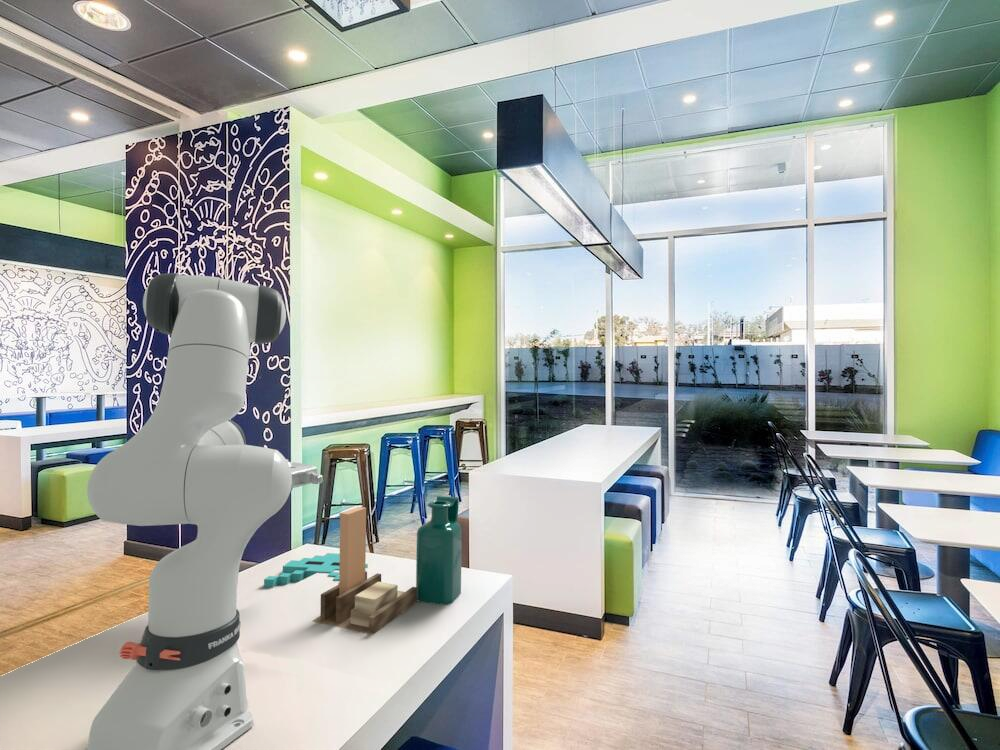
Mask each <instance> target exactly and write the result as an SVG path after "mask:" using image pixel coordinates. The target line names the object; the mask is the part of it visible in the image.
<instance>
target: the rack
mask: <svg viewBox="0 0 1000 750" xmlns="http://www.w3.org/2000/svg"><path fill="white" fill-rule="evenodd" d="M377 582H382V573H378V572H377V573H376V574H374V575H372V576H370V577H368V571H366V570H365V581H363V582H361V583H360V584H358V585H356V586H355V587H353V588H351V589H349V590H348V591H346V592H344V593H342V594H341V595H339V584H337V585H335V586H333V587H331V588H330V589H327V590H326V591H324V592H322V593H321V594H320V614H319V615H320V616H318V617H316V618H314V619H313V620H312V622H313V623H319V624H324V625H327V626H333V627H337V628H342V629H347V630H352V631H356V632H361V633H364V634H365V633H366V634H370V635H375V634H376V633H377V632H379V631H380V630H381V629H382V628H384V627H385V626H386V625H388V624H389V623H390V622H392V621H393V620H395V619H396V618H398V617H399V616H400V615H401V614H403V613H404V612H405V611H406V610H408V609H409V608H411V607H412V606H413V605H415V604H416V603H417V602H418V601H417V587H416V586H412V587H410V588H408V589H407V590H406V591H403V592H404V593H403V594H402V595H400V596H399V597H397V598H396V599H394V600H393V601H391V602H390V603H388V604H387V605H386V606H384V607H383V608H381V609H380V610H378V611H377V612H375V613H374V614H372V615H371V616H370V617H369V627H365V626H360V625H355V624H351V610H352V609H354V608H355V595H357V594H359V593H360V592H362V591H364V590H365V589H367V588H369V587H370V586H372V585H374V584H375V583H377Z"/></svg>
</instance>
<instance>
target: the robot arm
mask: <svg viewBox="0 0 1000 750" xmlns="http://www.w3.org/2000/svg"><path fill="white" fill-rule="evenodd" d="M282 296H283V295H282V294H280V292H279V291H278V290H276V289H274V288H272V287H269V286H266V285H262V284H260V285H259V286H258V285H255V284H251V283H248V282H242V281H236V280H233V279H227V278H221V277H218V276H209V275H191V274H190V275H189V274H188V275H187V274H181V275H180V274H179V273H178V272H167V273H160V274H157V275H156V276H154V277H153V278H151V279H150V281H149V283H148V285H147V287H146V289H145V291H144V294H143V298H142V308H143V313H144V316H145V317H146V321H147V324H148V325H149V326H150V327H151V328H152V329H153V330H154V331H156V332H158V333H161V334H165V335H168V336H170V341H169V344H168V351H167V359H166V366H165V372H164V378H163V382H162V387H161V391H160V393H159V394H160V395H159V398H158V402H157V404H156V405H155V408H154V410H153V411H152V413H151V415H150V417H149V418H148V419H147V421H146V422H145V423H144V425H143V426H142V427H141V428H140V430H139V431H138V432H136V433H135V435H133V436H132V437H131V438H130V439H128V440H127V441H126V442H125V443H124V444H122V445H121V446H119V447H118V448H116V449H114V450H112V451H111V452H109V453H107V454H106V455H104V456H103V457H102V458H101V459H100V460H99V461H98V463H97V464H96V465H95V466H94V467H93V469H92V471H91V474H90V475H89V478H88V482H87V487H86V488H87V492H86V493H87V494H86V495H87V500H88V503H89V506H90V508H91V509H92V512H94V514H95V515H96V516H97V517H98V518H99V519H100V520H101V521H103V522H107V523H108V522H109V523H115V524H120V525H128V526H138V527H145V526H146V527H148V526H149V527H150V526H167V525H187V524H190V525H196V526H197V533H196V534H197V535H196V537H195V540H193V541H191V542H189V543H187V544H185V545H183V546H181V547H179V548H177V549H175V550H173V551H171V552H170V553H168V554H166V555H165V556H164V557H162V558H161V559H160V560H159V561H157V563H156V564H155V565H154V567H153V568H152V570H151V572H150V575H149V577H148V578H149V579H148V610H147V611H148V614H147V615H148V621H147V622H148V624H147V625H146V627H144V629H145V630H144V631H143V635H142V636H141V640H140V642H138V643H135V642H133V641H127V642H125V643H124V644H123V645H122V646H121V648H120V650H119V655H120V656H119V657H120V658H121V659H124V660H129V659H131V660H133V661H135V660H136V662H135V663H134V665H133V666H132V668H131V669H130V670H129V672H127V675H126V676H125V677H124V678H123V680H122V681H121V683H120V684H119V685H118V686H117V687H116V689H115V690H114V692H113V693H112V694H111V695H110V697H109V698H108V700H106V702H105V703H104V705H103V706H102V707H101V709H100V710H99V711H98V713H97V714H96V715H95V716H94V718H93V720H92V723H91V726H90V729H89V734H88V740H87V746H86V747H87V748H85V749H84V750H222V749H224V748H225V747H226V746H228V745H229V744H231V743H232V742H233V741H235V740H236V739H237V738H239V737H240V736H241V735H243V734H244V733H245V732H247V731H248V730H249V729H251V728H253V726H254V724H255V723H254V715H253V713H252V712H251V710H249V708H248V707H249V703H248V697H247V696H248V695H247V685H246V675H245V667H244V662H243V660H242V659H243V658H242V657H241V654H240V650H239V647H238V646H239V645H238V641H239V639H240V636H241V631H240V630H241V621H240V611H239V610H238V609H237V601H238V600H237V599H238V583H239V574H240V572H239V571H240V565H241V560H242V557H243V554H244V551H245V549H246V547H247V545H248V543H249V542H250V540H251V538H253V536H254V534H255V533H256V531H257V530H258V529H259V528H260V527H261V526H262V525H263V524H264V523H265V522H266V521H267V520H269V519H270V518H271V517H272V516H274V515H276V514H277V513H278V512H279V511H280V510H281V509H282V508H283V506H284V505H285V504H286V503H287V500H288V498H289V497H290V494H291V492H292V491H293V489H295V488H299V487H303V486H307V485H310V484H313V485H319V484H322V483H323V481H324V479H323V478H324V476H323V475H322V474H318V473H319V472H318V470H319V469H318V468H317V466H315V465H312V464H307V463H303V462H292V461H290V460H289V459H287V458H285V456H284V455H283V453H281V452H280V451H279V450H278V449H274V448H269V447H263V446H256V445H250V444H247V440H246V436H245V433H244V430H243V429H242V427H241V426H240V425H239V424H238V423H236V422H235V421H233V420H232V419H233V418H234V417H235V416H237V414H238V413H240V411H241V410H242V408H243V407H244V405H245V402H246V391H247V382H248V381H247V378H248V368H249V367H248V366H249V359H250V353H251V343H255V345H262V344H265V345H266V344H270V343H274V342H275V340H277V339H278V338H279V337H280V334H281V333H282V331H283V330H284V327H285V324H286V320H287V312H286V306H285V302H284V300H283V297H282Z"/></svg>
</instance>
